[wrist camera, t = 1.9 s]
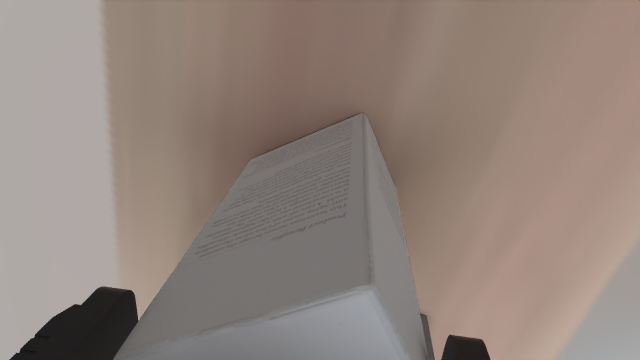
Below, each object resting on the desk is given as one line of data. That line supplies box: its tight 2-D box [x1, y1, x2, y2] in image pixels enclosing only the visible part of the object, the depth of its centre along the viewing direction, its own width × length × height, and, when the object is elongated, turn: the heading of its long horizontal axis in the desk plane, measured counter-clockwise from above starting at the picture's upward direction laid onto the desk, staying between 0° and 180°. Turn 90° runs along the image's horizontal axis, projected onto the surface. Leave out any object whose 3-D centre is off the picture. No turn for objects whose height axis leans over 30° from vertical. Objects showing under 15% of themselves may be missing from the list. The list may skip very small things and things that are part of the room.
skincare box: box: [113, 113, 429, 360], centre depth 14 cm, size 6×4×12 cm
